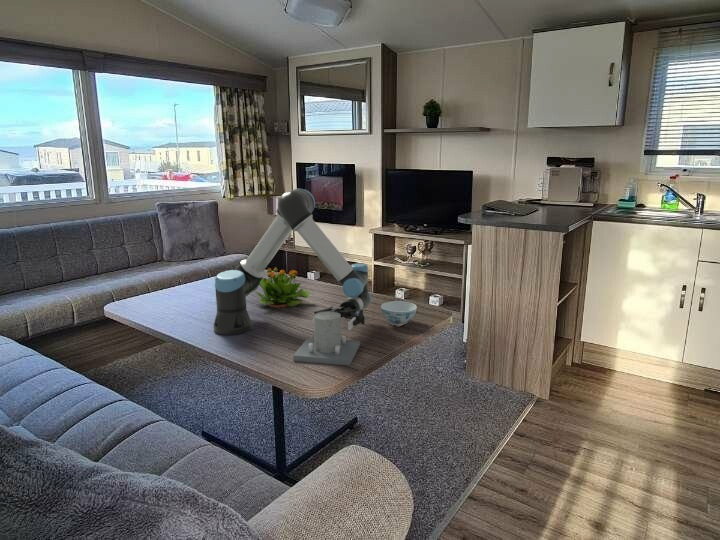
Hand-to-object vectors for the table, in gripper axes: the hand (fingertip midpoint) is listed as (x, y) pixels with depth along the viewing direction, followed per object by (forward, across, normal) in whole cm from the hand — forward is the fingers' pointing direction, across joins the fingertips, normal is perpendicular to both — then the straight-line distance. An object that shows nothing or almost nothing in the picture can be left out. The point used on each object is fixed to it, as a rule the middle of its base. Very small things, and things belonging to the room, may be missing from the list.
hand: (330, 324), depth 179 cm
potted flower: (-44, +46, -10) cm, 64 cm away
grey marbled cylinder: (+3, 0, -8) cm, 9 cm away
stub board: (+3, 0, -10) cm, 10 cm away
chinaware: (-37, -16, -10) cm, 41 cm away
